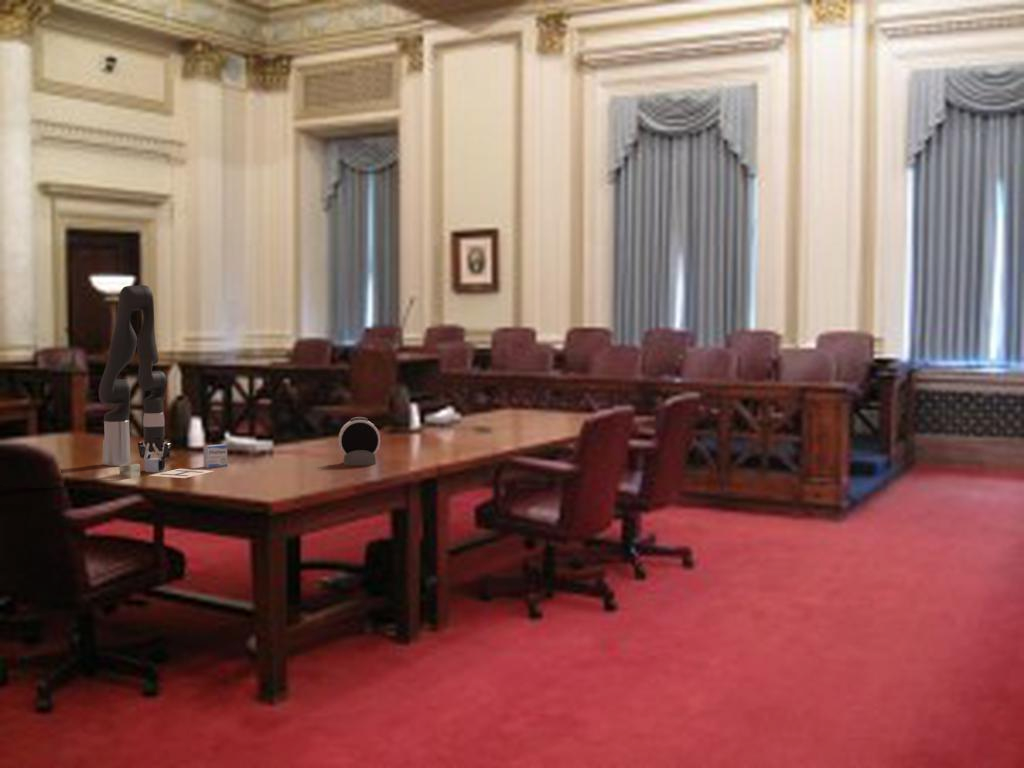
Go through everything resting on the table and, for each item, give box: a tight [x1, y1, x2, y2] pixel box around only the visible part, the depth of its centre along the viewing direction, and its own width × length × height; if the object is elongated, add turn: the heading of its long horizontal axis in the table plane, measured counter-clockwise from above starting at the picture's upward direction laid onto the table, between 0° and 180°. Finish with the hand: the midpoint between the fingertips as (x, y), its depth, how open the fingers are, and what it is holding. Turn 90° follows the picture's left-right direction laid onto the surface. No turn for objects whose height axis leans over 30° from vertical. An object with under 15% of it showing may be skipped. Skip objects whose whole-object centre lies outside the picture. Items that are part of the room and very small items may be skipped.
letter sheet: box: [148, 468, 214, 479], centre depth 430 cm, size 16×18×1 cm
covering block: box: [118, 462, 141, 479], centre depth 422 cm, size 5×5×5 cm
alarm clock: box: [338, 416, 381, 466], centre depth 457 cm, size 16×10×18 cm, turn 101°
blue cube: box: [144, 457, 166, 473], centre depth 436 cm, size 5×5×5 cm
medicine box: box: [202, 443, 228, 469], centre depth 447 cm, size 8×4×9 cm, turn 126°
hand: (155, 469), depth 436 cm, fingers open, 5 cm apart
